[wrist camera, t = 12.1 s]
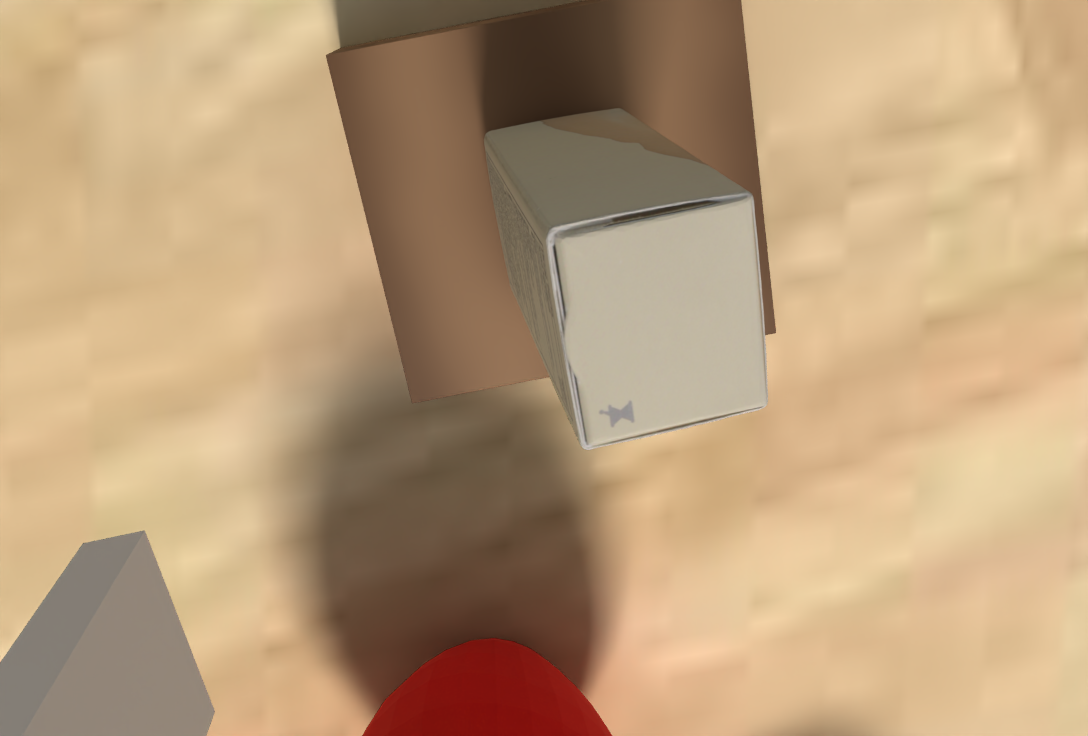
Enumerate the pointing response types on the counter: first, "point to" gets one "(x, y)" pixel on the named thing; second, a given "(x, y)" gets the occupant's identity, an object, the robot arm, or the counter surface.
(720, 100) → the walnut block
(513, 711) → the tomato
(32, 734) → the robot arm
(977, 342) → the counter surface
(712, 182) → the box
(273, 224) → the counter surface
